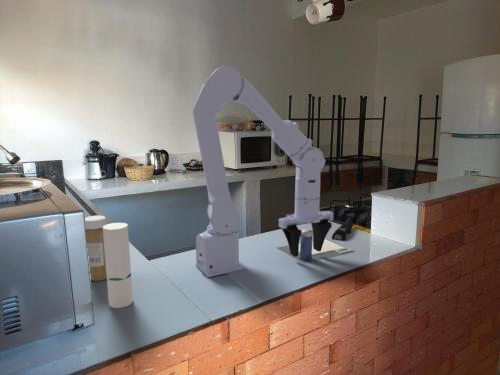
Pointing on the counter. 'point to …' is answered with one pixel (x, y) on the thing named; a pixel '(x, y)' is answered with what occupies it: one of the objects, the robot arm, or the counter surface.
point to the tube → (118, 264)
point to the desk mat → (314, 257)
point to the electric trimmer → (343, 231)
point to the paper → (325, 247)
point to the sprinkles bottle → (96, 246)
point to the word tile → (343, 250)
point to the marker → (306, 245)
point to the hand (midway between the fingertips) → (305, 252)
